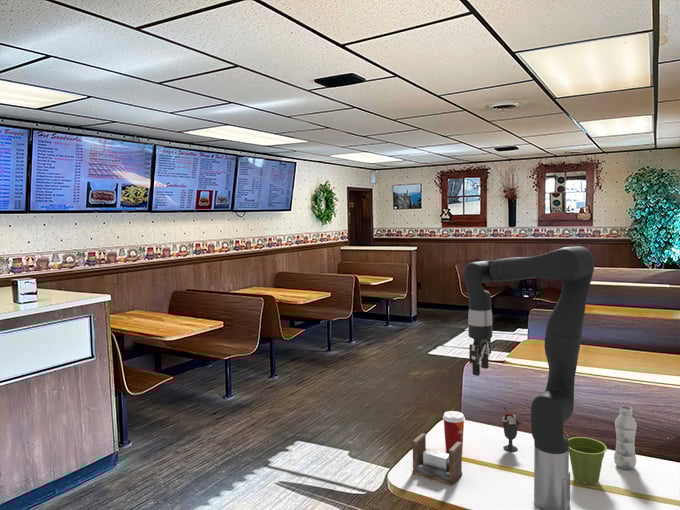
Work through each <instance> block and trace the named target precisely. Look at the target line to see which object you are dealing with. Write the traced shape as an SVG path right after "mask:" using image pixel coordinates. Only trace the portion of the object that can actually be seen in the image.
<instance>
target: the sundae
mask: <svg viewBox="0 0 680 510" xmlns="http://www.w3.org/2000/svg"><path fill="white" fill-rule="evenodd" d="M503 409H504V410H505V413H504V416H503V417H502V419H501V420H500V422H501V424H502V426H503V433H504V437H506V439H507V440H508V444H507V445H504V446H503V450H505V451H506V452H510V453H514V452H517V451H518V448H517V447H516V446H515V445H513V440H514V439H516V438H517V435H518V428H519V425H521V421H520V416H518V418H517V417H516V415H515V414H513V413H511V412H509V411H508V409H507V408H506V407H505V408H503ZM507 412H508V413H507Z"/></svg>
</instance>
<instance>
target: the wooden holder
mask: <svg viewBox="0 0 680 510" xmlns="http://www.w3.org/2000/svg"><path fill="white" fill-rule="evenodd" d="M426 435H427V433H423V432H421V433H420V434H419V435H418V436H416V437H415V438H414V439H413V440H412V470H411V473H412V475H416V476H418V477H422V478H425V479H429V480H433V481H436V482H439V483H442V484H447V485H449V486H454V485H455V484H456V483H457V482H458V480H459V479H460V478H461V477H462V476H463V470H462V468H463V467H462V466H463V465H462V464H463V462H462V459H463V458H462V455H463V449H462V446H461V442H458V441H457V442H456V443H455V444H454V445H453V446H452V447H451V448H450V449H449V472H446V471H442V470H438V469H435V468H431V467H427V466H424V465H423V453H424V452H425V451H426V450H427V445H426V443H427V442H426V440H427V439H426Z"/></svg>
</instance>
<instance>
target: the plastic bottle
mask: <svg viewBox="0 0 680 510" xmlns="http://www.w3.org/2000/svg"><path fill="white" fill-rule="evenodd" d="M632 415H633V408H632V407H631V406H629V405H628V406H627V405H620V407H619V415H618V416H617V417H616V418H615V421H614V428H615V437H616V439H615V440H616V441H615V442H616V443H615V444H616V445H615V451H614V454H613V460H614V464H615V465H616V466H617V467H619V468H620V469H623V470H632V469H634V468H635V467H636V464H637V456H636V450H635V446H636V445H635V441H636V440H635V439H636V434H637V428H638V427H637V426H638V424H637V421H636V419H635V417H633V416H632Z"/></svg>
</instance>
